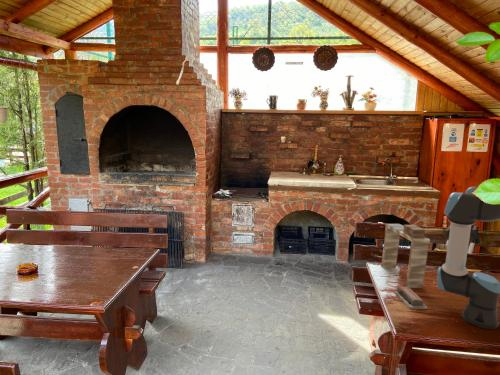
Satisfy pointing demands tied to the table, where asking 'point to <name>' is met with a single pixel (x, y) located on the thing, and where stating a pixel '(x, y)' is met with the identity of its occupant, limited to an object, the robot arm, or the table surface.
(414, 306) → the packaged product
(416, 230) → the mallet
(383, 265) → the frame
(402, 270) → the table surface
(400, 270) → the table surface
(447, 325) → the table surface
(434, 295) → the table surface
